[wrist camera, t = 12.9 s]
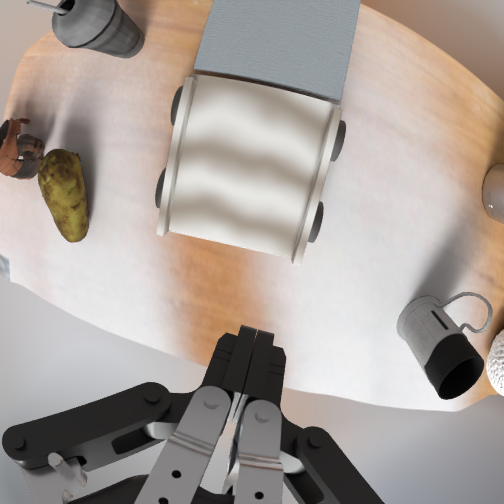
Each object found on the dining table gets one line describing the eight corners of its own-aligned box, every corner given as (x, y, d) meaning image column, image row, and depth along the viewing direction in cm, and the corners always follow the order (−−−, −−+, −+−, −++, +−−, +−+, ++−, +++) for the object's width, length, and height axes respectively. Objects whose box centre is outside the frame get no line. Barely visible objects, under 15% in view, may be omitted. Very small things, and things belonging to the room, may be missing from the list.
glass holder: (388, 337, 44) (421, 403, 30) (425, 258, 39) (481, 309, 25) (426, 343, 44) (463, 402, 30) (463, 271, 39) (518, 318, 25)
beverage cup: (161, 49, 31) (80, -12, 12) (114, 77, 32) (12, 47, 13) (144, 12, 28) (67, -54, 10) (100, 39, 30) (6, -2, 11)
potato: (52, 222, 39) (20, 238, 32) (68, 141, 35) (33, 145, 28) (92, 241, 40) (63, 261, 33) (112, 156, 36) (80, 161, 28)
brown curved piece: (18, 186, 38) (-19, 174, 30) (32, 135, 39) (-2, 119, 31) (53, 178, 34) (9, 160, 27) (70, 119, 35) (32, 96, 28)
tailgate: (340, 100, 28) (360, 0, 23) (193, 68, 27) (224, -29, 23) (336, 102, 30) (356, 6, 25) (197, 72, 29) (226, -22, 24)
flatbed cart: (304, 248, 39) (311, 269, 33) (164, 216, 38) (145, 231, 32) (340, 113, 33) (356, 107, 26) (190, 80, 32) (174, 68, 26)
